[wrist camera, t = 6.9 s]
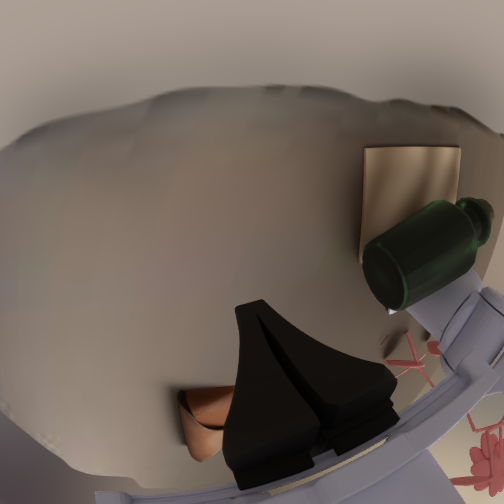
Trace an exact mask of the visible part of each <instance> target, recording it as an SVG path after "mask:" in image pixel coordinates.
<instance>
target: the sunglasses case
mask: <svg viewBox="0 0 504 504" xmlns="http://www.w3.org/2000/svg"><path fill="white" fill-rule="evenodd" d="M234 389H235V386H227V387H219V388H210V389H199V390H189V391H182V390H180V392H179V393H178V395H177V400H178V406H179V412H180V417H181V422H182V426H183V430H184V435H185V439H186V443H187V447H188V450H189V452H190V454H191V456H192V457H193V458H194V459H195V460H196V461H198V462H203V461H205V460H207V459H208V458H210V457H211V456H213V455H214V454H215V453H216V452H218V451H219V450H220V449H221V448H222V440H223V430H224V423H225V421H226V418H227V415H228V412H229V408H230V405H231V401H232V397H233V393H234Z"/></svg>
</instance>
